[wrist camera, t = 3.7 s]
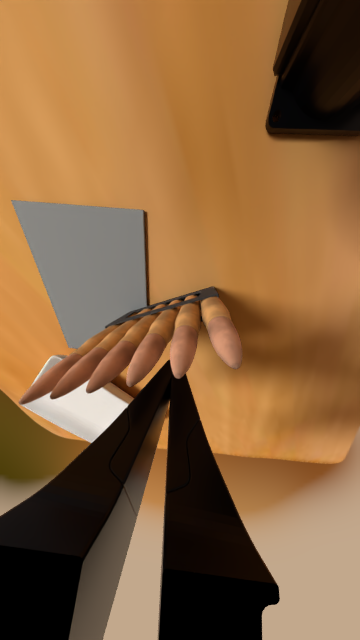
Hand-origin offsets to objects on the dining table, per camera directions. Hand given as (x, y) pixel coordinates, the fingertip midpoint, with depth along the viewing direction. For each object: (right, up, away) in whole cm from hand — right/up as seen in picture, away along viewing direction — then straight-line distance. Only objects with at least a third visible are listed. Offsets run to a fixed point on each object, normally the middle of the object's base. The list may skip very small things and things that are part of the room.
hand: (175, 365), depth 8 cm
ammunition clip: (-1, +4, +8) cm, 9 cm away
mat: (-10, +6, +9) cm, 15 cm away
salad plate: (-17, -14, +20) cm, 30 cm away
